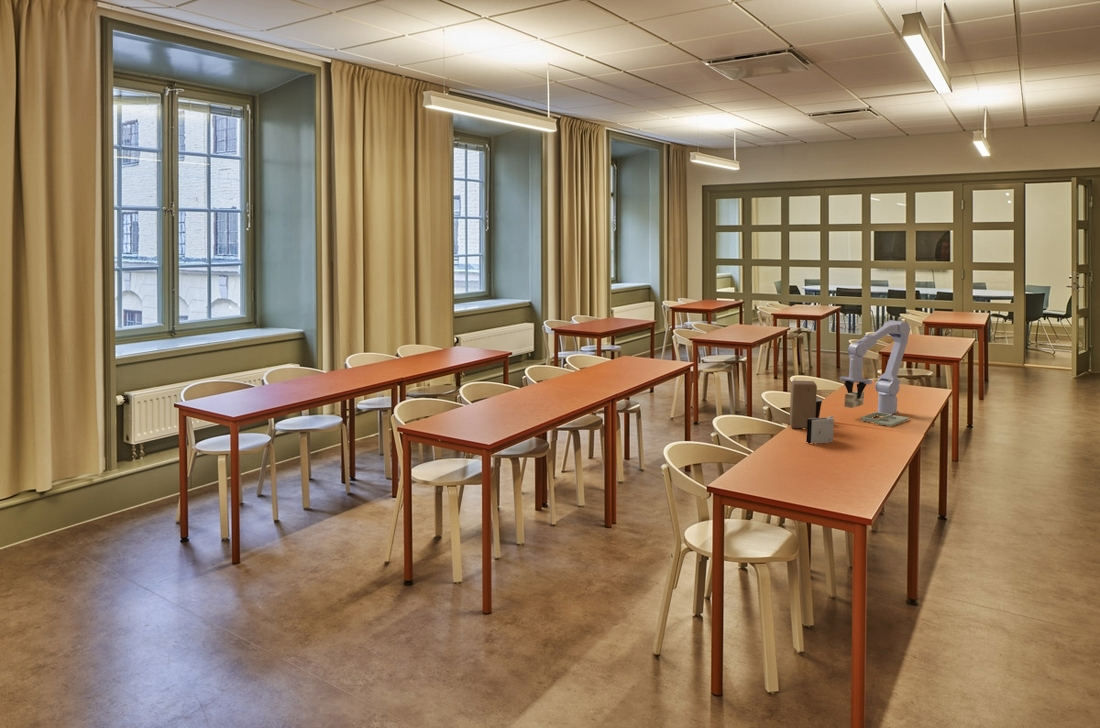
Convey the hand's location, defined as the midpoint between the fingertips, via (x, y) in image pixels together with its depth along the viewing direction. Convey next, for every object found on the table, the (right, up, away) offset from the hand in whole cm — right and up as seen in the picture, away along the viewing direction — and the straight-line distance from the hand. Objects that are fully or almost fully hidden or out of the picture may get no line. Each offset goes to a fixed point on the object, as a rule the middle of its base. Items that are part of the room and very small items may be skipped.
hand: (854, 397), depth 380 cm
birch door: (0, -4, 0) cm, 4 cm away
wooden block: (-31, -12, -20) cm, 39 cm away
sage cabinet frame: (+10, -10, -9) cm, 17 cm away
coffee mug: (-23, -10, -7) cm, 26 cm away
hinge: (-31, -16, -48) cm, 59 cm away
